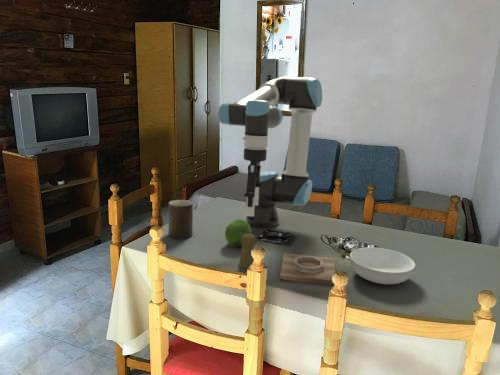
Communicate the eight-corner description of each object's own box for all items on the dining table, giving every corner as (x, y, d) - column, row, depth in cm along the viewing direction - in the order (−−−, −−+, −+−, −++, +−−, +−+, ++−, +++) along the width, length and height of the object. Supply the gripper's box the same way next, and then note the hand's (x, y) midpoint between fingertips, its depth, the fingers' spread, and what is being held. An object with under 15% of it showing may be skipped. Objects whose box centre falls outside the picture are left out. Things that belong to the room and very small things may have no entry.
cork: (254, 269, 143) (255, 239, 141) (237, 267, 145) (238, 237, 142) (257, 261, 149) (258, 232, 146) (241, 259, 150) (242, 231, 148)
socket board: (283, 257, 154) (284, 249, 153) (333, 261, 152) (333, 253, 151) (279, 279, 137) (280, 270, 136) (335, 285, 134) (336, 276, 134)
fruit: (234, 235, 173) (235, 212, 171) (257, 239, 170) (258, 215, 168) (220, 248, 160) (220, 223, 157) (244, 253, 156) (245, 227, 154)
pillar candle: (185, 240, 166) (186, 204, 162) (164, 236, 169) (164, 201, 165) (196, 232, 175) (197, 198, 171) (175, 229, 178) (175, 195, 174)
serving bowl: (426, 288, 134) (429, 269, 133) (369, 296, 128) (371, 275, 127) (388, 261, 154) (390, 244, 152) (336, 267, 148) (338, 248, 146)
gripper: (248, 142, 150) (245, 200, 155) (238, 152, 126) (235, 220, 131) (269, 144, 149) (266, 201, 154) (263, 154, 125) (259, 222, 130)
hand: (252, 210), depth 142 cm, fingers open, 13 cm apart
